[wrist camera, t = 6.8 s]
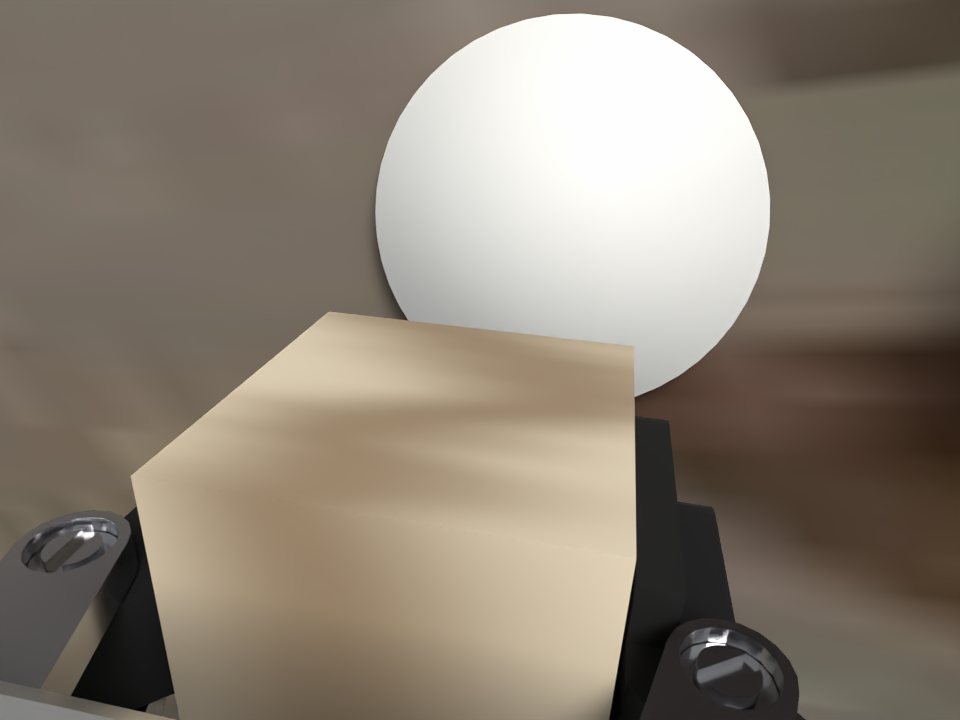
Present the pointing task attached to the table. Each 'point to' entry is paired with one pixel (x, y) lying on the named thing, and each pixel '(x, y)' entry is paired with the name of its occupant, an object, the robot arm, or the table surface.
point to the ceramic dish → (576, 193)
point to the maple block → (400, 529)
